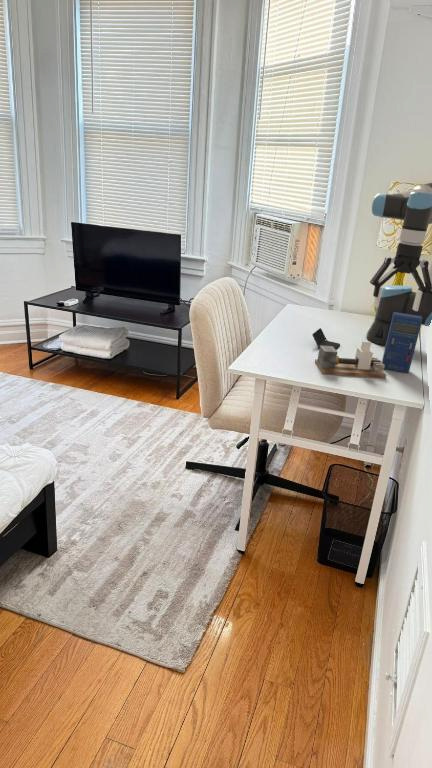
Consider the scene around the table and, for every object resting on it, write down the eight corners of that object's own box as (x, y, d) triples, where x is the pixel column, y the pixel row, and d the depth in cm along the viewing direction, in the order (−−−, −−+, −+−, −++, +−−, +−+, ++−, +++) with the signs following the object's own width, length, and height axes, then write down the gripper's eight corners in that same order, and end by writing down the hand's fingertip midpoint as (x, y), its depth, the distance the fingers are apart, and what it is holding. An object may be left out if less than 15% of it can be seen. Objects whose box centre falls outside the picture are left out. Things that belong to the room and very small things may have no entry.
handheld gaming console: (339, 349, 198) (327, 326, 198) (322, 358, 201) (310, 334, 200) (341, 345, 209) (329, 323, 209) (324, 353, 212) (313, 331, 211)
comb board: (374, 366, 189) (378, 347, 186) (385, 378, 179) (390, 358, 176) (314, 362, 187) (318, 343, 184) (322, 373, 177) (326, 353, 174)
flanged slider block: (364, 364, 185) (370, 339, 182) (369, 369, 181) (374, 344, 177) (353, 364, 185) (358, 339, 181) (357, 369, 180) (363, 343, 177)
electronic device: (381, 369, 187) (394, 314, 179) (380, 364, 192) (393, 311, 184) (408, 374, 185) (423, 319, 177) (407, 369, 190) (421, 315, 182)
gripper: (442, 245, 172) (426, 308, 180) (369, 238, 170) (355, 302, 178) (453, 248, 165) (436, 314, 173) (377, 241, 163) (362, 308, 171)
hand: (395, 308), depth 175 cm, fingers open, 13 cm apart
